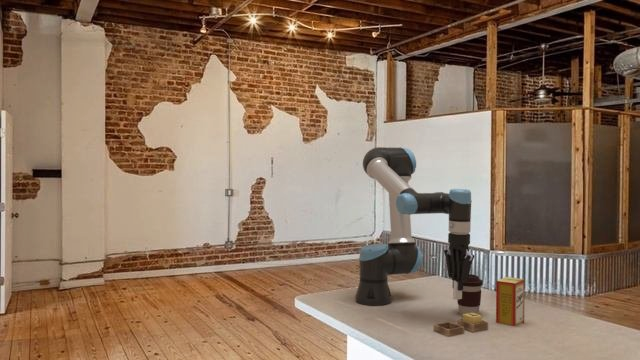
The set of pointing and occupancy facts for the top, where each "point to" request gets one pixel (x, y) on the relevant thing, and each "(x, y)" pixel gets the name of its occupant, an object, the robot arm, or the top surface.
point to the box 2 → (473, 326)
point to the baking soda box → (510, 301)
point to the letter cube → (472, 318)
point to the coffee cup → (470, 295)
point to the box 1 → (448, 329)
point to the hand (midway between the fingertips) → (457, 298)
